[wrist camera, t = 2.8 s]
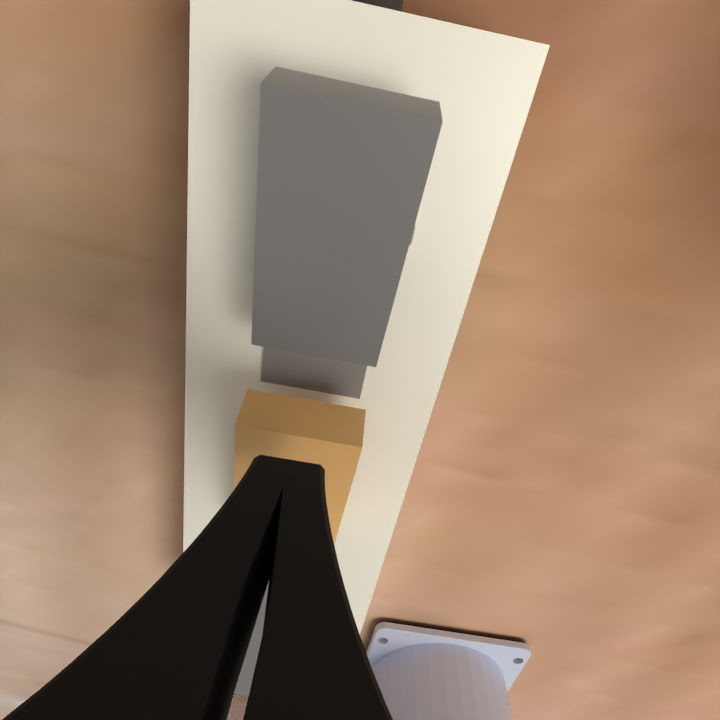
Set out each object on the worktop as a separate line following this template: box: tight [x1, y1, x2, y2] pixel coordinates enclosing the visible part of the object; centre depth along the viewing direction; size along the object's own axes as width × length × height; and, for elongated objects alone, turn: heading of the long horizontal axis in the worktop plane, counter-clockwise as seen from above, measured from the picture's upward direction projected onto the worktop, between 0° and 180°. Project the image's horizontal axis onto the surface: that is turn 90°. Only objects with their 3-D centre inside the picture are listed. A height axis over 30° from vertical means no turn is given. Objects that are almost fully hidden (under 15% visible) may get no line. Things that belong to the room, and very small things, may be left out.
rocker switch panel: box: [183, 0, 550, 634], centre depth 15 cm, size 28×7×4 cm, turn 169°
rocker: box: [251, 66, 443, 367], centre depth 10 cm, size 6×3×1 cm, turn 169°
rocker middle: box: [234, 389, 366, 544], centre depth 14 cm, size 6×3×1 cm, turn 169°
